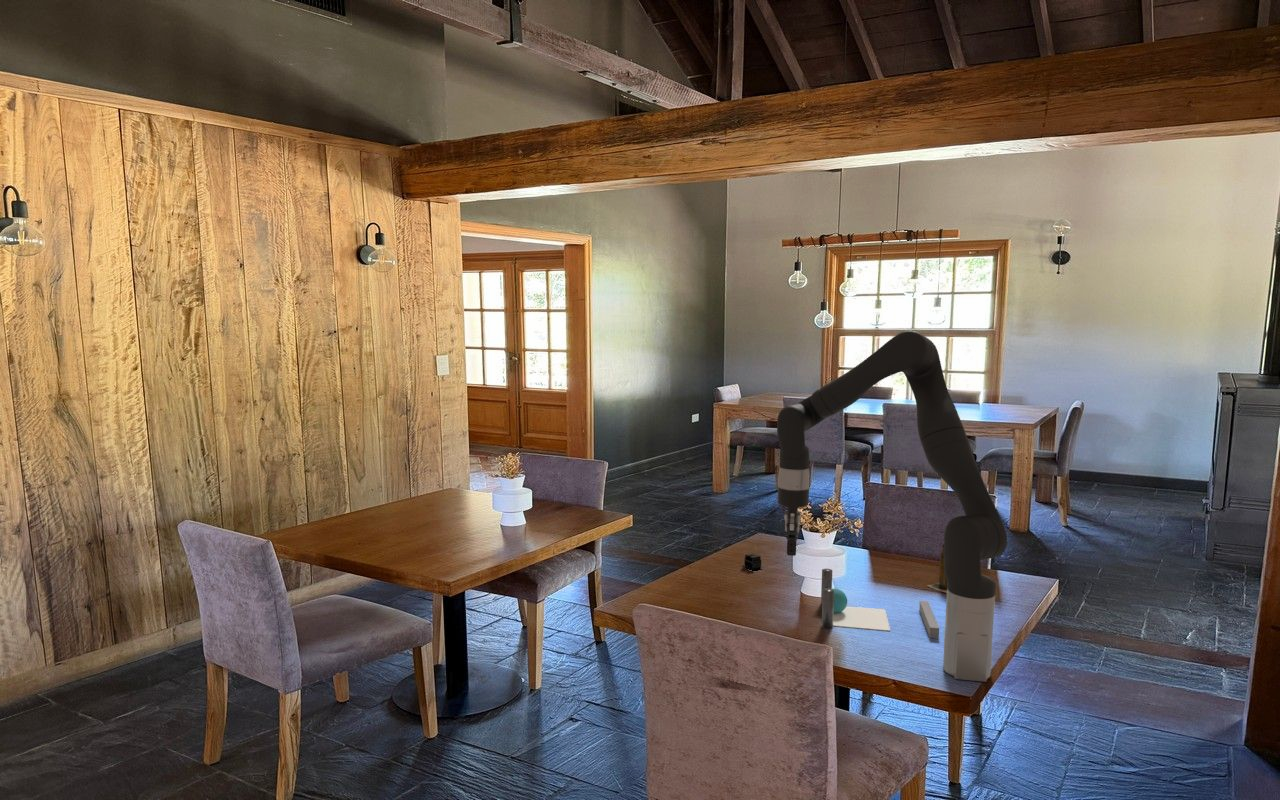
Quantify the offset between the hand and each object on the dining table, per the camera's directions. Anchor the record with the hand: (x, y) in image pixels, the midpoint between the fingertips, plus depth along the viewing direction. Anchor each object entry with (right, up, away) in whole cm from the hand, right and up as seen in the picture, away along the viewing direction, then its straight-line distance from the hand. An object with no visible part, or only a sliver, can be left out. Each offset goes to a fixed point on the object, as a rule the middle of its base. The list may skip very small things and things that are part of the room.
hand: (791, 554), depth 198 cm
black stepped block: (-4, -12, +37) cm, 40 cm away
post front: (+7, -16, -7) cm, 19 cm away
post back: (+10, -14, +8) cm, 20 cm away
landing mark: (+16, -15, -1) cm, 22 cm away
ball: (+11, -12, +2) cm, 17 cm away
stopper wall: (+32, -16, -4) cm, 36 cm away
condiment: (+47, -14, +22) cm, 54 cm away
